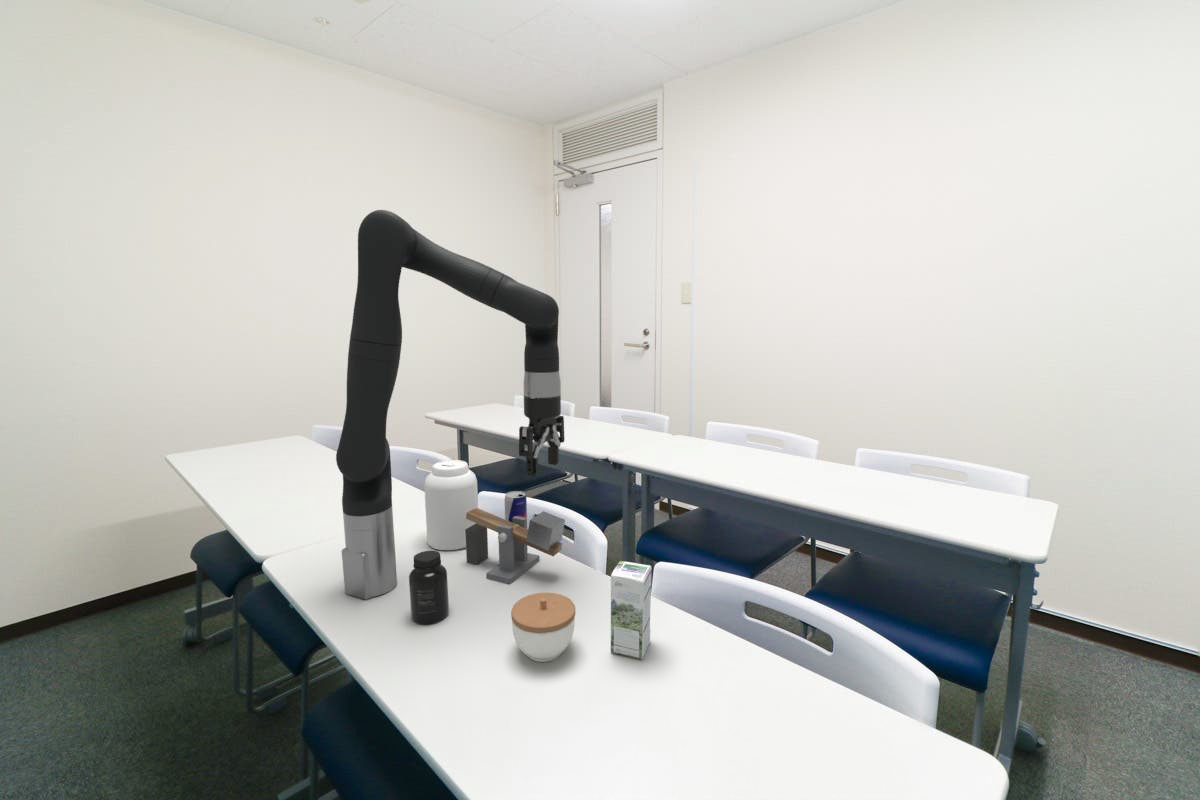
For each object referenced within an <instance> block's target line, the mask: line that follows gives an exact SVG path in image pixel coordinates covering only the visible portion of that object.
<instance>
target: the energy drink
mask: <svg viewBox="0 0 1200 800" xmlns="http://www.w3.org/2000/svg"><path fill="white" fill-rule="evenodd" d="M527 503H528V502H527V495H526V492H524V491H521V490H514V491H513V490H512V491H508V492H506V493H505V495H504V519H505V520H507V521H510V522H512V523H513V520H512V518H513V517H515V516H518V517H523V518H527V519H528V512H527V511H528V510H527V509H528V508H527V505H528V504H527Z"/></svg>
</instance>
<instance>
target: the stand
mask: <svg viewBox="0 0 1200 800" xmlns="http://www.w3.org/2000/svg"><path fill="white" fill-rule="evenodd" d="M512 520H513V523H514V524H518V525H520V526H522V527H524V528H526V529H528V517H527V518H523V517H518V516H515V517H513V518H512ZM465 533H466V547H465V551H466V552H465V555H466V556H465V557H466V563H469V564H471V565H475V566H478V565H480V564H481V563H483V562H484V561H486V560H487V559H488V558H489V546H488V545H489V543H488V542H489V540H488V528H486V527H484V526H481V525H479V524H477V523H476V524H474V525H472V526H470V527H469V528H467V529H465ZM497 534H498V535H497V539H498V561H499V562H498V563H497V565H496V566H494V567H492V568H491V569H489V571H487V572H486V575H485V576H486V577H485V578H486V579H488V580H492V581H495V582H499V583H503V584H506V585H511V584H512V583H514V581H516V580H517V579H518V578H520V576H522V575H523V574H524V573H525V572H527V571H528V570H530V569H532V567H533V566H534V565H536V564H537V563H539V562H540V560H541V559H540V558H541V557H540V555H539V554H533V553H529V552H528V545H525V544H523V543H521V542H518V541H516V540H514V539H513V527H511V526H506V525H500V526H498V532H497Z"/></svg>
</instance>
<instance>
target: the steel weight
mask: <svg viewBox="0 0 1200 800" xmlns="http://www.w3.org/2000/svg"><path fill="white" fill-rule="evenodd" d="M565 523H566V519H564V518H561V517H560V516H557V515H554V514H552V513H549V512H546V511H541V512H539V513H537V515H535V516H534V517H532V518H531V519H529V523H528V527H527V529H528V534H527V542H529V543H532V544H534V545H536V546H539V547H541V548H543V549H546V550H548V551H549V550H550V549H551V548H553V547H554V546H555V545H557V544H558V543H559V542H560V543H561V542H562V540H563V534H564V529H565Z"/></svg>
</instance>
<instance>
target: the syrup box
mask: <svg viewBox="0 0 1200 800" xmlns="http://www.w3.org/2000/svg"><path fill="white" fill-rule="evenodd" d="M651 598H652V566H651V565H649V564H642V563H637V562H631V561H623V560H619V562H618V563H617V565H616V566H615V568H614V569H613V571H612V573H611V574H610V653H611V654H614V655H615V654H616V655H619V656H624V657H629V658H633V659H638V660H643V659H644V656H645V653H646V652H647V649H648V647H649V644H650V642H651Z"/></svg>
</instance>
